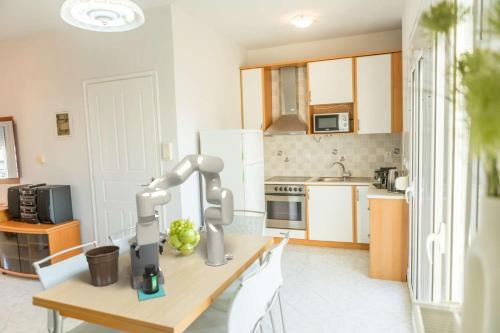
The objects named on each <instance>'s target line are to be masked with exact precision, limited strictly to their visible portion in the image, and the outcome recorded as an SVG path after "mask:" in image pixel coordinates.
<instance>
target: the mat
mask: <svg viewBox="0 0 500 333" xmlns="http://www.w3.org/2000/svg"><path fill="white" fill-rule="evenodd" d="M137 294H138V300H139V302H143V301H146V300H147V301H148V300H152V299H157V298H161V297H166V292H165V290H164V287H163V284H161V285H159V291H158V292H157V293H155V294H151V295H147V294H145V293H144V288H140V289H137Z"/></svg>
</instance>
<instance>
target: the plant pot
mask: <svg viewBox="0 0 500 333" xmlns="http://www.w3.org/2000/svg"><path fill="white" fill-rule="evenodd" d="M120 250H121V247H120V246H119V245H102V246H101V245H100V246H97V247H93V248H90V249H87V250H86V251H85V252H84V254H83V255H84V256H85V260H86V263H87V265H88V270H89V275H90V279H91V284H92V285H93V286H94V287H105V286H108V285H110V284H114V283H116V282H117V281H118V280H119V256H120Z"/></svg>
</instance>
